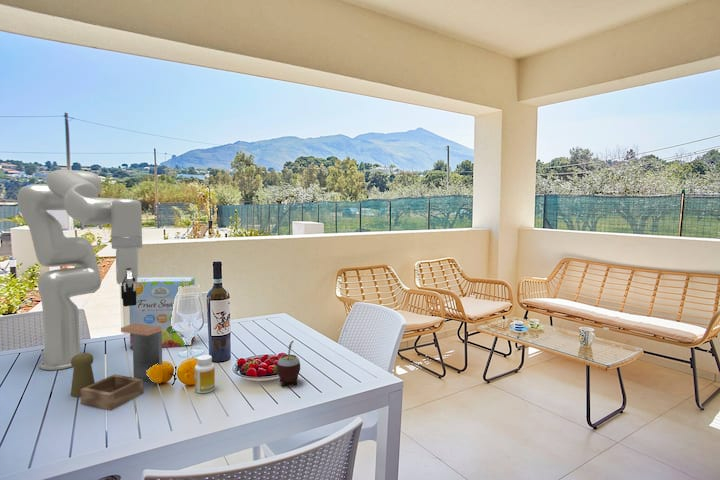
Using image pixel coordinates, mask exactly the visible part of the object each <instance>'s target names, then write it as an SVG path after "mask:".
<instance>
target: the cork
mask: <svg viewBox="0 0 720 480" xmlns="http://www.w3.org/2000/svg"><path fill="white" fill-rule="evenodd" d="M80 353H81V352H80ZM93 362H94V355H93V354H91V353H90V352H82V353H81V354H77V355H75V356H74V357H73V358H72V359H71V365H72V366H73V367H72V368H73V370H72V380H71V390H70V396H71V397H72V398H81V394H80V389H82V388H84V387H87V386H89V385H91V384H94V383H96V382H95V377H94V373H93V367H92V364H93Z"/></svg>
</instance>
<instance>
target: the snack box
mask: <svg viewBox="0 0 720 480" xmlns="http://www.w3.org/2000/svg"><path fill="white" fill-rule="evenodd" d="M195 279H196V278H195V276H174V277H173V276H163V277H162V276H156V277H151V276H150V277H137V282H136V283H135V291H136V305H134V306H128V307H129V309H128V310H129V325H131V324H134V323H138V324H146V325H153V326H160V327H162V348H178V347H180V348H181V347H186V346H185V345H184V343H183V341H182V339H181V338H180V336H179V335H178V334H177V333H176V332H175V331H173V329H172V326H171V317H172V311H173V304H174V299H175V296H176V294H177V292H178V287H179V286H182V287H184V286H190V285H196V283H195ZM195 336H196V335H195ZM195 336H194V337H193V338H192V340H191V346H190V347H192V346H193V344H194V343H195V339H196V337H195ZM129 340H130V341H129V342H130V343H129V346H130V347H129V348H130V349H131V350H133V337H132V333H129Z"/></svg>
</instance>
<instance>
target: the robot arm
mask: <svg viewBox="0 0 720 480" xmlns="http://www.w3.org/2000/svg"><path fill="white" fill-rule="evenodd" d="M101 190H102V183H101V179H100V177H99V176H98V175H97V174H96V173H94V172H91V171H85V170H76V169H75V170H74V169H65V168H64V169H55V170H53V171H51V172H49V173H48V175H46V178H45V184H43V183H42V184H41V183H35V184H28V185H25V186H23V187H21V188H19V191H18V192H17V207H18V210H19V213H20V214H21V216H22V218H23V220H24V222H25V223H26V225H27V226H28V229H29V232H30V235H31V241H32V244H33V248H34V252H35V253H34V254H35V256H36V258H37V261H38V263H39V264H40V266H42V267H46V268H47V267H48V268H50V267H51V268H54V267H63V266H74V265H75V267H68V268H67V267H66V268H57V269H53V270H48V271H46V272H44V273H42V274H41V275H40V276H39V277H38V280H37V289H38V291H39V292H38V293H39V296H40V300H41V305H42V306H41V307H42V319H43V341H44V350H41V351H40V353H39V354H40V355H41V356H43V360H42V361H40V362H39V368H40V369H41V370H44V371H58V370H64V369H69V368H74V367H73V366H72V365H71V359H72V358H73V357H74V356H75V355H77V354H81V336H80V335H81V334H80V333H81V331H80V311H79V308H78V306H77V305H76V304H75V303H74V302H73V301H72V300H71V298H72V297H76V296H82V295H87V294H93V293H96V292H97V291H99V289H100V288H101V285H102V278H101V273H100V268H99V265H98V262H97V261H98V260H97V257H96V252H95V250H94V247H93V245H92V243H91V241H89V240H88V239H87V238H85V237H81V236H78V237H77V236H70V237H67V236H65V234H64V232H63V231H64V230H63V226H62V223H60V221H59V220H58V219H56V217H55V216H54V215H52V214H51V213H49V212H48V211H65V212H66V214H67V215H68V216H69V217H70V218H72V219H74V220H75V221H77V222H78V223H81V224H84V225H111V227H110V228H111V229H110V230H111V231H110V233H111V249H113V250H115V272H116V273H115V274H116V283H117V284H118V285H120V289H121V290H120V294H121V297H120V298H121V299H122V306H123V307H129V306H134V305H136V291H135V283H136V282H137V278H139V277H138V274H139V273H138V270H139V253H138V252H139V250H138V249H142V248H143V227H142V226H143V223H142V222H143V221H142V216H143V215H142V203H141V202H140V200H137V199H134V198H133V199H129V198H128V199H127V198H118V197H112V198H111V197H99V194H100V192H101Z"/></svg>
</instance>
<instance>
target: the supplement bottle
mask: <svg viewBox="0 0 720 480" xmlns="http://www.w3.org/2000/svg"><path fill="white" fill-rule="evenodd" d="M212 361H213V357H212V355H210V354H203V355H199V356H197V358H196V365H195V366H194V391H195V392H196V393H197V394H207V393H210V392H212V391H214V390H215V388H216V387H215V385H216V381H215V380H216V377H215V376H216V375H215V373H216V372H215V371H216V370H215V364H214V363H213V362H212Z"/></svg>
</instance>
